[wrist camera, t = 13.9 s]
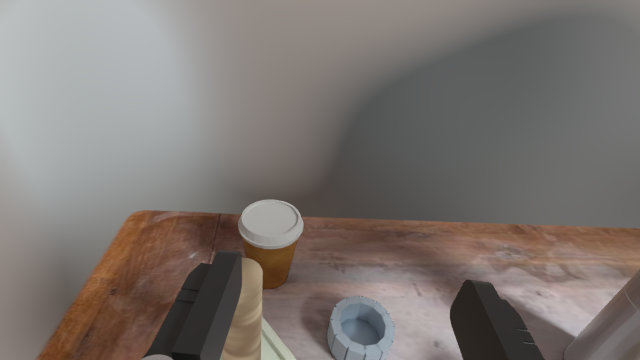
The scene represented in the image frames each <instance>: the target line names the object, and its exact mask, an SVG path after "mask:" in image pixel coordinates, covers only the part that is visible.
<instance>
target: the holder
mask: <svg viewBox="0 0 640 360" xmlns="http://www.w3.org/2000/svg"><path fill="white" fill-rule="evenodd" d="M387 312H388V311H387V310H386V309H385V308H383V307H382V306H381V305H380V304H379V303H378V302H377V301H376V302H375V300H372V299H369V298H366V297H363V296H361V298H360V296H353V297H346V298H344V299H343V300H341V301H340V302H339V303H337V304H336V305H335V306H334V309H333V312H332V315H331V318H330V323H329V327H328V332H327V341H328V346H329V349H330V351H331V353H332V355H333V357H334V358H335V359H336V360H385V359H386V358H387V356H388V353H389V351H390V348H391V346H392V344H393V341H394V332H395V327H394V326H395V325H394V323H393V321H392V319H391V317H390V314H389V313H387Z"/></svg>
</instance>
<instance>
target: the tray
mask: <svg viewBox="0 0 640 360" xmlns="http://www.w3.org/2000/svg"><path fill="white" fill-rule="evenodd" d="M220 360H222V354H221V357H220ZM261 360H297V359H296V358H295V357H294V356H293V354H292V353H291V352H290V351H289V349H288V348H287V347H286V346H285V344H284V343H283V342H282V340H281V339H280V338H279V337H278V335H277V334H276V333H275V332H274V330H273V329H272V328H271V327H270V325H269V324H268V323H267V321H266V320H265V319H264V318H263V316H262V329H261Z"/></svg>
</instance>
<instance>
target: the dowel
mask: <svg viewBox="0 0 640 360" xmlns="http://www.w3.org/2000/svg"><path fill="white" fill-rule="evenodd" d="M262 284H263V271H262V268H261V266H260V265H259V264H258V263H257V262H256V261H254V260H252V259H249V258H243V257H242V288H241V293H240V297H239V301H238V304H237V307H236V310H235V313H234V316H233V320H232V323H231V326H230V329H229V332H228V335H227V338H226V341H225V345H224V348H223V351H222V360H261V329H262Z"/></svg>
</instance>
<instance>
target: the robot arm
mask: <svg viewBox="0 0 640 360" xmlns="http://www.w3.org/2000/svg"><path fill="white" fill-rule="evenodd" d="M241 288H242V255H241V252H236V251H228V250H219V251H218V252H217V254H216V256H215V258H214V260H213V263H212V264H204V263H201V264H200V265H198V266H197V267H196V268H195V269H194V270H193V271H192V272H191V273H190V274H189V275H188V277H187V279H186V280H185V282H184V284H183V286H182V288H181V291H180V292H179V294H178V296H177V298H176V299H175V303H173V305H172V307H171V309H170V311H169V313H168V315H167V316H166V318H165V320H164V322H163V324H162V326H161V328H160V330H159V332H158V334H157V335H156V337H155V339H154V341H153V343H152V345H151V347H150V348H149V350H148V352H147V353H146V354H145V355H144V357H143V358H142V359H141V360H220V357H221V354H222V351H223V348H224V345H225V341H226V338H227V335H228V332H229V329H230V326H231V323H232V320H233V316H234V313H235V310H236V307H237V304H238V301H239V297H240V293H241ZM450 321H451V325H452V328H453V331H454V334H455V337H456V340H457V342H458V345H459V348H460V351H461V354H462V357H463V360H545V359H544V358H543V356H542V354H541V352H540V351H539V349H538V347H537V346H536V345H535V344H534V343H535V342H534V340H533V338H532V336H531V335H530V333H529V332H527V328H526V326H525V324H524V322H523V320H522V319H521V317H520V315H519V314H518V313H517V312H516V310H515V309H514V308H513V307H512V306H511V305H510V304H509V303H508V302H507V301H506V300H502V299H500V297H499V296H498V294H497V292H496V290H495V288H494V286H493V285H492V284H491V283H489V282H482V281H473V280H466V281H465V282H464V283H463V285H462V287H461V289H460V291H459V293H458V295H457V296H456V298H455V300H454V302H453V304H452V306H451V309H450ZM564 360H640V269H639V270H638V271H637V273H636V274H635V275H634V276H633V277H632V278H631V279H630V280H629V281H628V282H627V284H626V285H625V286H624V287H623V288H622V289H621V290H620V291H619V292H618V293H617V294H616V295H615V296H614V297H613V299H612V300H611V301H610V302H609V303H608V304H607V305H606V306H605V307H604V308H603V309H602V310H601V311H600V312H599V314H598V315H597V316H596V317H595V318H594V319H593V320H592V321H591V322H590V323H589V324H588V325H587V326H586V327H585V329H584V330H583V331H582V332H581V333H580V334H579V335H578V336H577V337H576V338H575V339H574V340H573V341H572V342H571V343H570V344H569V346H568V347H567V348H566V349H565V351H564Z"/></svg>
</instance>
